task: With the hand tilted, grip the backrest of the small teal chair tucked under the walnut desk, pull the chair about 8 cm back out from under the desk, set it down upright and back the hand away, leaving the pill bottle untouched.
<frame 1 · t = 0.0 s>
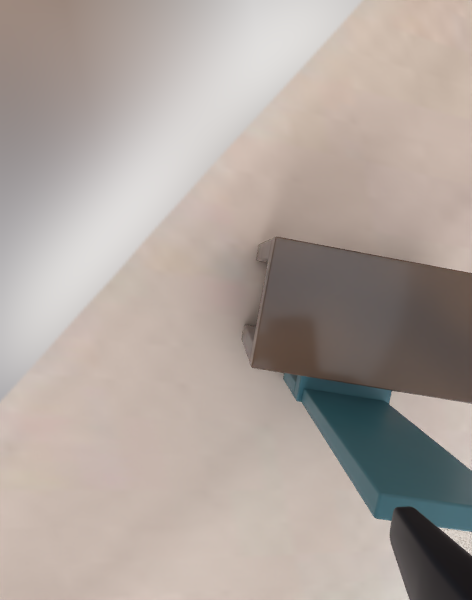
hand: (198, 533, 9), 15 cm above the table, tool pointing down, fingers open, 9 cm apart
chair: (329, 346, 24), on the table
desk: (336, 307, 24), on the table
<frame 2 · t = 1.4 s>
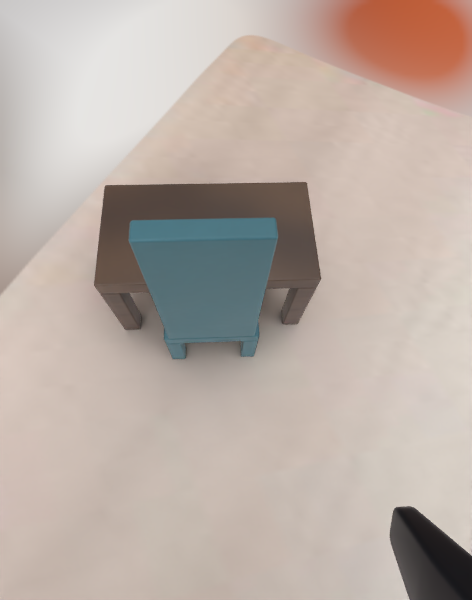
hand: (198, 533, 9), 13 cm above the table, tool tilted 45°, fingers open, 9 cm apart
chair: (212, 319, 25), on the table
desk: (211, 284, 26), on the table
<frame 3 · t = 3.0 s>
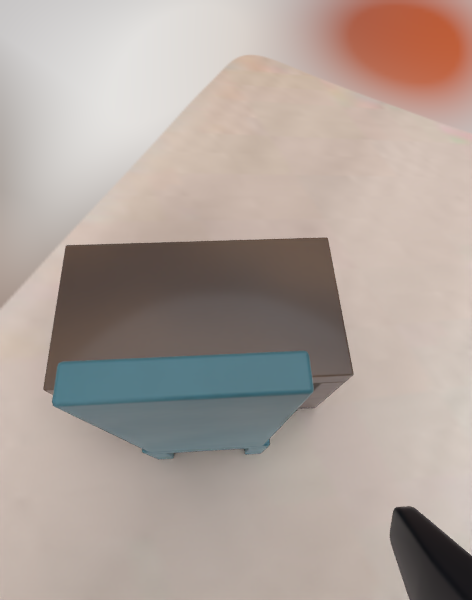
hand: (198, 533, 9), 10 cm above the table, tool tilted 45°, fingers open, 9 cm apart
chair: (208, 403, 20), on the table
desk: (206, 356, 21), on the table
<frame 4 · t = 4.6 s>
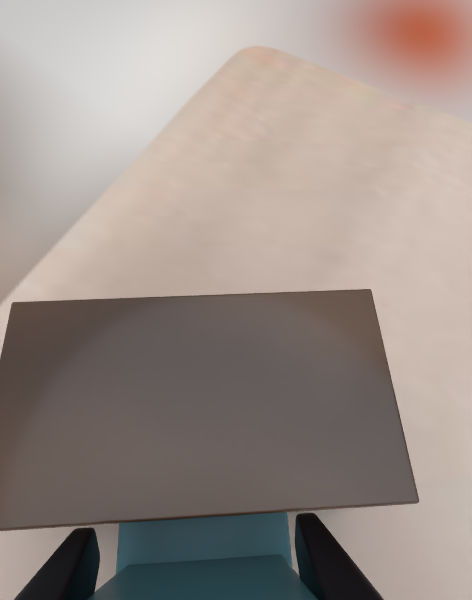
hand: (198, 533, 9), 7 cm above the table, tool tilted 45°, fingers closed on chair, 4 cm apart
chair: (208, 491, 15), on the table, touching gripper
desk: (206, 425, 17), on the table
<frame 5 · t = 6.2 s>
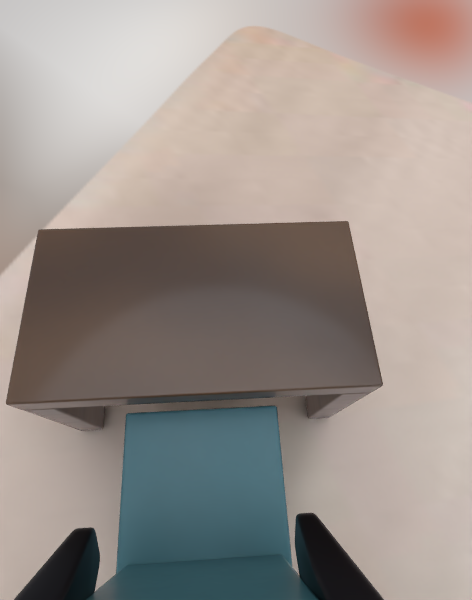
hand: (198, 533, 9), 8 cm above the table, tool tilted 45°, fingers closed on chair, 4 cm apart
chair: (208, 490, 15), point 1 cm above the table, touching gripper
desk: (205, 358, 18), on the table
when the fingers open (7 cm above the table, at t = 8.1 s): chair stays where it is, on the table.
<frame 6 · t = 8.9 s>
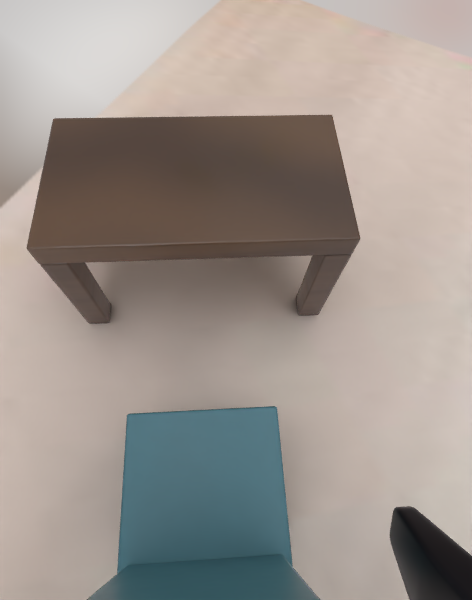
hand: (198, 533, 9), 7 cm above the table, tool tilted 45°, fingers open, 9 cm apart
chair: (208, 491, 16), on the table
desk: (203, 265, 20), on the table
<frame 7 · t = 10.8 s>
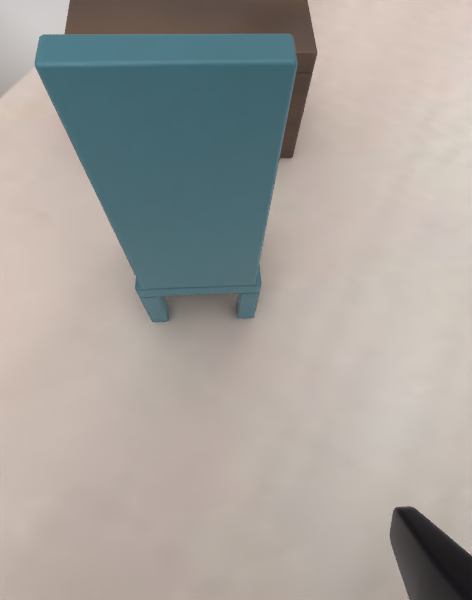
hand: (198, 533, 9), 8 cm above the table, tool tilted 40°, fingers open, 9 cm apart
chair: (202, 274, 20), on the table
desk: (198, 120, 24), on the table
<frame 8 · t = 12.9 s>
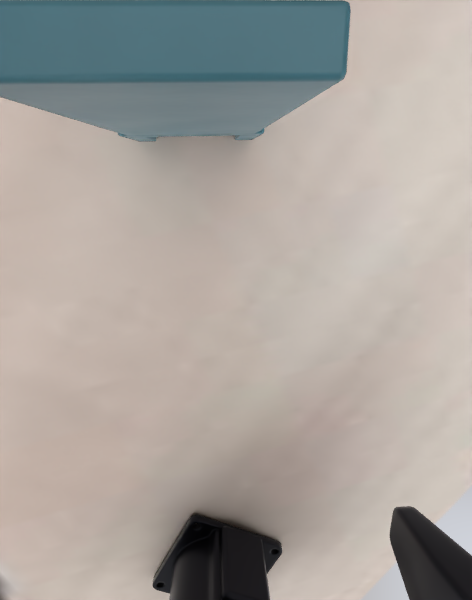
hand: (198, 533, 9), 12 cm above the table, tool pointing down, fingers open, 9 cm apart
chair: (192, 75, 16), on the table
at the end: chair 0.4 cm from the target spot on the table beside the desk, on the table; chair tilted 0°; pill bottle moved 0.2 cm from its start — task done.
